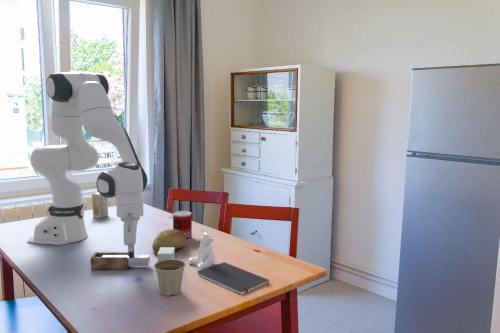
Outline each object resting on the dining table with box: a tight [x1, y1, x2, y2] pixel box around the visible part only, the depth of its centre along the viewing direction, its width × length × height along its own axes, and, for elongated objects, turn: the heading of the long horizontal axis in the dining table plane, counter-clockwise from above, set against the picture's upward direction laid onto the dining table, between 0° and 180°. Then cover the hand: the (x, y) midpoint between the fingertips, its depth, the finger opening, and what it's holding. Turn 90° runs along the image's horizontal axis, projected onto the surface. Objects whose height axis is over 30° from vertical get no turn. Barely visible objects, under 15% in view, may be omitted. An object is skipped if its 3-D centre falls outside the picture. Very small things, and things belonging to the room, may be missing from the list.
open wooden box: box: [90, 251, 130, 271], centre depth 148 cm, size 12×5×4 cm, turn 93°
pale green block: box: [156, 247, 176, 263], centre depth 148 cm, size 5×6×6 cm
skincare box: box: [91, 191, 109, 219], centre depth 210 cm, size 6×4×12 cm
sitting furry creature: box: [188, 232, 217, 272], centre depth 151 cm, size 10×9×12 cm
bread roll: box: [151, 228, 188, 254], centre depth 166 cm, size 10×15×8 cm, turn 138°
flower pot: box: [153, 258, 187, 297], centre depth 130 cm, size 9×9×9 cm
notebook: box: [197, 261, 270, 294], centre depth 140 cm, size 13×2×21 cm
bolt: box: [102, 249, 151, 267], centre depth 147 cm, size 16×3×9 cm, turn 93°
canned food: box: [172, 210, 193, 241], centre depth 180 cm, size 8×8×11 cm
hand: (131, 249), depth 147 cm, fingers open, 2 cm apart
